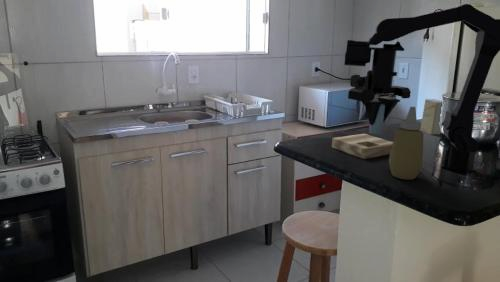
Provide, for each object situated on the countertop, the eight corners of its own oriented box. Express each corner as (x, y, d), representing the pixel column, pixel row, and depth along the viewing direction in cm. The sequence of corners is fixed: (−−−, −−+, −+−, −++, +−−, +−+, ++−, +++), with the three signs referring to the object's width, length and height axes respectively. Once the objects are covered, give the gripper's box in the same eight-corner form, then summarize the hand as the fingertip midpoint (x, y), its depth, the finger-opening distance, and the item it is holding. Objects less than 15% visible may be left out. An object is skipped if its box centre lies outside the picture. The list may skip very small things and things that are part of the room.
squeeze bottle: (381, 175, 106) (389, 106, 102) (396, 169, 112) (404, 103, 107) (411, 184, 101) (422, 111, 96) (425, 177, 106) (436, 107, 102)
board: (396, 152, 127) (397, 143, 126) (363, 159, 120) (364, 149, 119) (363, 142, 138) (364, 133, 137) (331, 147, 131) (332, 138, 130)
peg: (384, 133, 116) (387, 105, 114) (375, 135, 114) (379, 106, 112) (374, 131, 119) (378, 103, 116) (366, 132, 117) (369, 104, 115)
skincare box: (419, 131, 157) (424, 99, 154) (429, 130, 158) (434, 98, 155) (431, 135, 151) (436, 102, 148) (441, 134, 152) (446, 101, 149)
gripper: (383, 64, 123) (377, 116, 127) (336, 65, 113) (331, 121, 117) (415, 67, 114) (407, 123, 118) (367, 69, 104) (360, 129, 108)
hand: (376, 124), depth 116 cm, fingers closed on peg, 3 cm apart
